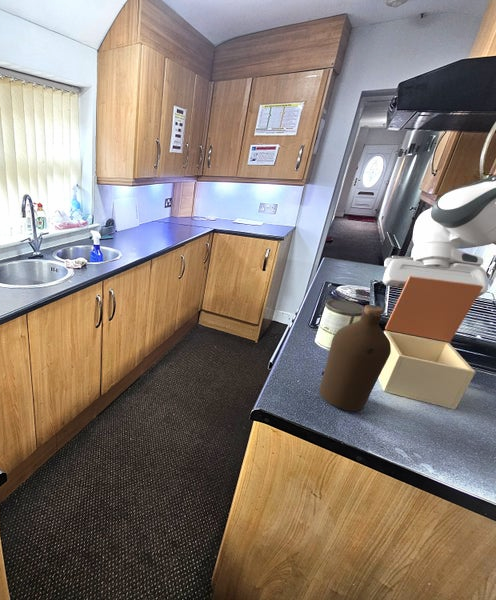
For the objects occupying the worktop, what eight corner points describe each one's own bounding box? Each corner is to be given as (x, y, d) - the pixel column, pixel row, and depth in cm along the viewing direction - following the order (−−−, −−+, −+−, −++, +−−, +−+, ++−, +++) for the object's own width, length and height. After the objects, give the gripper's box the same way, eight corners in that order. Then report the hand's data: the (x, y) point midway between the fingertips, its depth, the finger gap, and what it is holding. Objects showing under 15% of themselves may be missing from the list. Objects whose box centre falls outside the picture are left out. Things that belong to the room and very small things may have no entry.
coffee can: (317, 333, 113) (329, 296, 107) (354, 344, 106) (368, 305, 101) (311, 345, 106) (322, 306, 100) (349, 357, 100) (364, 316, 94)
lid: (483, 286, 78) (481, 285, 79) (409, 277, 84) (409, 275, 85) (450, 342, 86) (449, 340, 87) (385, 329, 92) (384, 328, 93)
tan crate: (455, 409, 78) (475, 372, 74) (383, 391, 84) (399, 355, 80) (432, 376, 91) (449, 342, 87) (371, 362, 97) (384, 330, 93)
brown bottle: (379, 410, 77) (420, 316, 67) (340, 416, 76) (376, 320, 66) (341, 382, 87) (372, 296, 77) (306, 387, 85) (333, 299, 75)
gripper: (390, 248, 92) (385, 291, 88) (492, 259, 83) (492, 307, 79) (381, 260, 98) (376, 301, 93) (476, 271, 88) (475, 317, 84)
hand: (430, 304), depth 86 cm, fingers closed, pressing on lid
